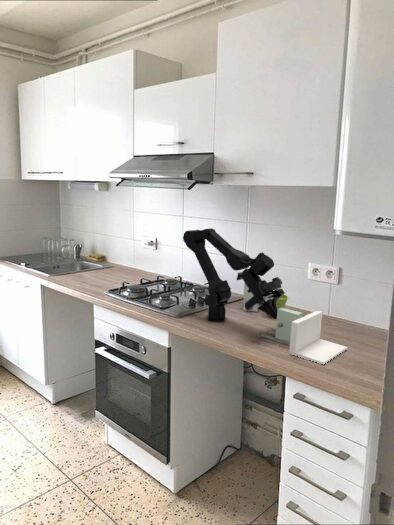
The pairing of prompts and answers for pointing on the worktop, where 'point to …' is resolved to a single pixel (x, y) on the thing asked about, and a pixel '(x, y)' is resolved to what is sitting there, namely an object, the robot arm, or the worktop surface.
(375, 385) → the worktop surface
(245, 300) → the skincare box
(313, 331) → the white l-shaped stand
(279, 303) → the plant pot
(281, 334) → the door
